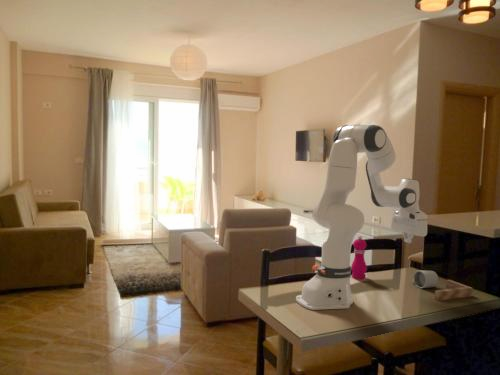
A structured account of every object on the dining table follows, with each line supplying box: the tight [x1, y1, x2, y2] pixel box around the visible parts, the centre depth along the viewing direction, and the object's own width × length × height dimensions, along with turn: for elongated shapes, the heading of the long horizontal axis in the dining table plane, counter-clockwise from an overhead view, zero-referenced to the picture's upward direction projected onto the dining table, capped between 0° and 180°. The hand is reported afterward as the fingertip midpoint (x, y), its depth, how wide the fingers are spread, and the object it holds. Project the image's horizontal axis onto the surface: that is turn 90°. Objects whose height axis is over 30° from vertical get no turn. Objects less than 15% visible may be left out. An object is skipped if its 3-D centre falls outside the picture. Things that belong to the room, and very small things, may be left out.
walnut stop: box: [434, 279, 474, 301], centre depth 173 cm, size 18×12×4 cm, turn 110°
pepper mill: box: [350, 235, 368, 280], centre depth 194 cm, size 7×7×20 cm
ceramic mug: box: [412, 270, 440, 289], centre depth 183 cm, size 11×8×8 cm
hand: (407, 242), depth 192 cm, fingers closed
